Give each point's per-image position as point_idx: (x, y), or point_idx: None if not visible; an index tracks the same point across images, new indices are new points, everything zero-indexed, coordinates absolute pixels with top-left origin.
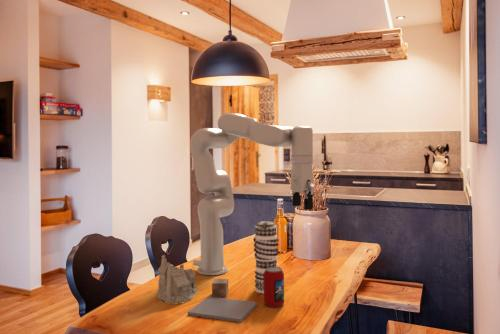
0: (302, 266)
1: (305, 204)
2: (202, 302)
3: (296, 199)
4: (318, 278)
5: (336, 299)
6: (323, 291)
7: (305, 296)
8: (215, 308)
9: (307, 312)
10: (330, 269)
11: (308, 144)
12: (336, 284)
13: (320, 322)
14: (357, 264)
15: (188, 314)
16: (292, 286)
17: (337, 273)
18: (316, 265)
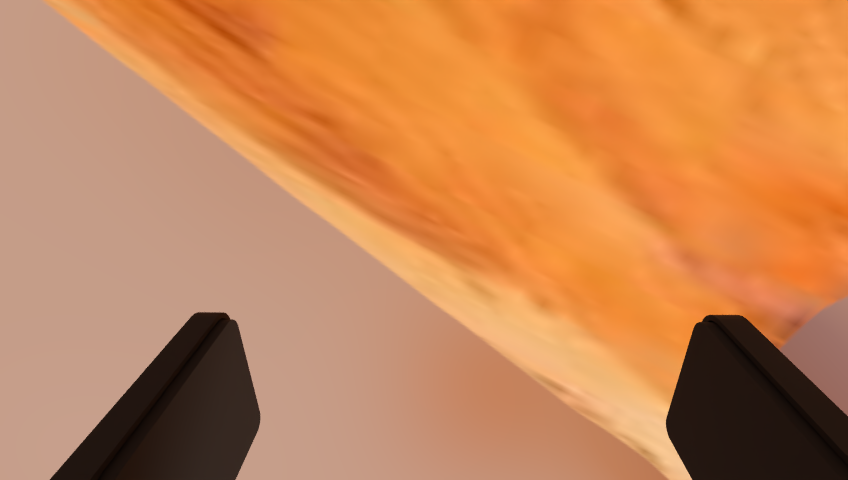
0: (739, 251)
1: (150, 385)
2: None
3: (758, 470)
4: (547, 236)
5: (293, 183)
6: (391, 180)
7: (356, 82)
8: None
9: (175, 3)
10: (628, 329)
11: None
12: (449, 263)
13: (69, 8)
14: (626, 431)
15: None
16: (499, 83)
17: (568, 327)
18: (711, 308)
